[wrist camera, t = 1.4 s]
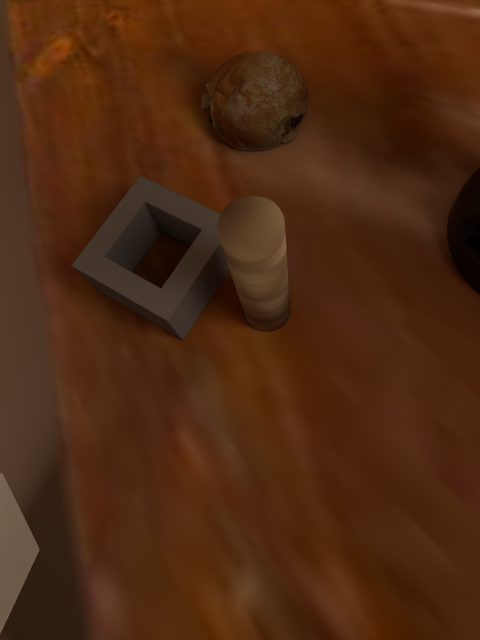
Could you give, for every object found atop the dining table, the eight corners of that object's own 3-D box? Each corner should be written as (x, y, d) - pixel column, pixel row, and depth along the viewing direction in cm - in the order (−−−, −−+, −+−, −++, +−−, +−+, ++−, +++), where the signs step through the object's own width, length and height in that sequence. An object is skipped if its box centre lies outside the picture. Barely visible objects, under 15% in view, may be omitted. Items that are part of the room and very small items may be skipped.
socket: (156, 207, 45) (140, 175, 40) (242, 249, 42) (235, 220, 37) (96, 289, 43) (71, 265, 38) (183, 340, 40) (167, 320, 35)
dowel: (259, 281, 41) (239, 186, 28) (298, 301, 40) (297, 212, 27) (235, 318, 40) (204, 237, 27) (275, 339, 39) (262, 266, 26)
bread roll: (261, 185, 49) (287, 149, 41) (180, 126, 47) (191, 78, 39) (305, 117, 51) (338, 72, 43) (229, 59, 49) (249, 1, 42)
